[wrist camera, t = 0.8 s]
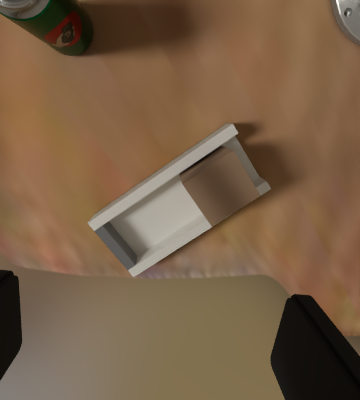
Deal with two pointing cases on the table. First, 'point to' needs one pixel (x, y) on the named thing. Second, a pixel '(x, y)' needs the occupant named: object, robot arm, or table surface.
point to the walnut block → (219, 184)
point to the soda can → (52, 22)
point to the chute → (163, 208)
